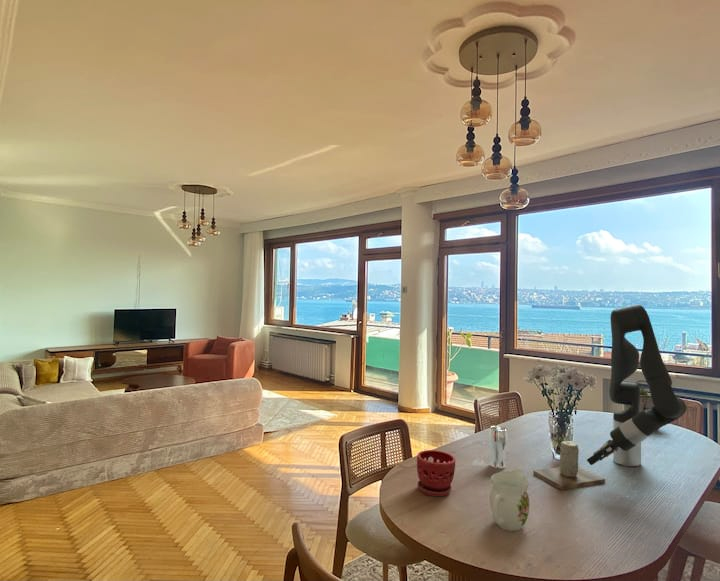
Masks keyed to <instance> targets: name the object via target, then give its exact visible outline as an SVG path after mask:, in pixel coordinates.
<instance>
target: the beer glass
mask: <svg viewBox="0 0 720 581" xmlns="http://www.w3.org/2000/svg"><path fill="white" fill-rule="evenodd" d="M507 430H508V429H507V428H506V427H504V426H500V425H492V426H489V432H488V445H489V449H490V461H489V465H490V467H491V466H492V467H491V468H493V467H494V469H497V468H498V470H500V469H501V470H503V469H506V467H507V465H506V464H507V463H506V452H507V447H508V431H507Z"/></svg>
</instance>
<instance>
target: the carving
mask: <svg viewBox="0 0 720 581" xmlns="http://www.w3.org/2000/svg"><path fill="white" fill-rule="evenodd" d="M579 453H580V450H579V445H578V443H576V441H573V440H572V441H571V440H563V441H561V442H560V455H559V456H560V457H559V466H558V467H560V468H559V470H560V473H561V474H562V475H564V476H566V477H575V476H576V475H577V473H578V467H579Z"/></svg>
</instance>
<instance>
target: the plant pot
mask: <svg viewBox="0 0 720 581" xmlns="http://www.w3.org/2000/svg"><path fill="white" fill-rule="evenodd" d="M429 458H432V459H433V461H429ZM416 471H417V476H418V479H419V480H418V482H417V488H418V489H419V491H421V492H422V493H424V494H426V495H428V496H431V497H432V496H433V497H443V496H447V495H448V494H449V493H450V492H452V482H453V479H454V476H455V472H456V458H455V457H454V456H453V455H452V454H450V453H448V452H445V451H442V450H441V451H440V450H434V449H429V450H422V451H419V452H418V453H417V456H416Z"/></svg>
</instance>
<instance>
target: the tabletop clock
mask: <svg viewBox="0 0 720 581" xmlns="http://www.w3.org/2000/svg"><path fill="white" fill-rule="evenodd" d="M641 382H643V383H647V382H646V380H638V381H636V382H635V383H637V384H638V383H641ZM639 387H640V407H639V413H640V412H642V411H644V410H648V409H650V408H652V407H653V406H654V404H653V401H652V398H651V394H650V393H649V392H648V390H646V389H647V388H648V389H649V386H644V385H641V386H639ZM630 406H631V405H625V404H624V410H625V409H628V408H629V407H630Z"/></svg>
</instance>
